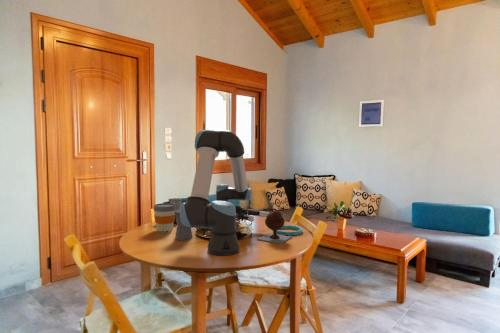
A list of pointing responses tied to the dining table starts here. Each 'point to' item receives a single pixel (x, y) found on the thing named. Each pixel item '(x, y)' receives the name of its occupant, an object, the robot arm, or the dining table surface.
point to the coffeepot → (182, 229)
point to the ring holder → (290, 232)
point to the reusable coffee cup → (164, 216)
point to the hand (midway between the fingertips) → (261, 216)
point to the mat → (278, 241)
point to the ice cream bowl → (274, 222)
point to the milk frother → (177, 204)
